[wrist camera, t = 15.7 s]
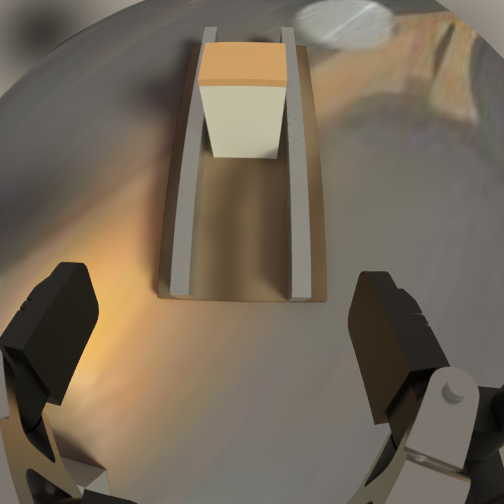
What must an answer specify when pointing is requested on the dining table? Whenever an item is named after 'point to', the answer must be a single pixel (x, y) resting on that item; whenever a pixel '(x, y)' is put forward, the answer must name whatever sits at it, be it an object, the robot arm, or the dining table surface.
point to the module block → (243, 97)
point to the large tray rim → (87, 476)
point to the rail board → (245, 203)
